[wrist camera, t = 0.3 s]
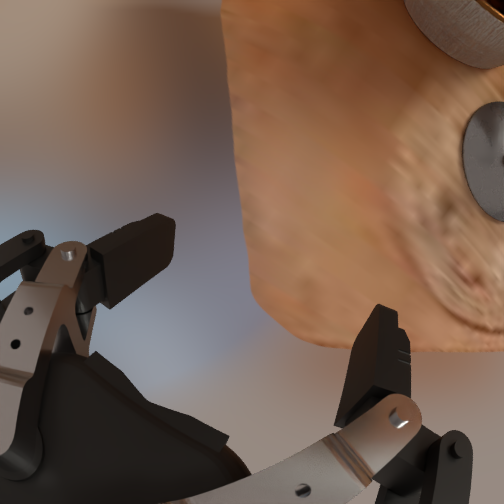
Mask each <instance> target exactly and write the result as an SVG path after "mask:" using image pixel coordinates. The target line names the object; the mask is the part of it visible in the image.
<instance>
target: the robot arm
mask: <svg viewBox="0 0 504 504" xmlns="http://www.w3.org/2000/svg"><path fill="white" fill-rule="evenodd" d="M175 227H176V224H175V221H174V219H172V218H169V217H167V216H164V215H162V214H159V213H156V214H153V215H151V216H149V217H147V218H145V219H143V220H141V221H136V222H132V223H129V224H127V225H125V226H123V227H121V229H120V228H119V229H117V230H115V231H114V232H113V233H112V232H111V233H109V234H107V235H105V236H103V237H101V238H99V239H97V240H95V241H93V242H92V243H90V244H88V245H84V244H83V243H81V242H77V241H68V242H64V243H61V244H59V245H57V246H56V247H51V246H48V245H45V239H44V234H43V233H42V232H41V231H39V230H28V231H25V232H22V233H20V234H19V235H17V236H15V237H13V238H12V239H10V240H8V241H6V242H4V243H3V244H1V245H0V282H1V281H2V280H4V279H5V278H7V277H8V276H10V275H11V274H13V273H14V272H16V271H17V270H19V269H20V272H21V275H22V279H23V281H22V282H21V283H20V285H19V286H18V288H17V290H16V291H14V292H13V293H12V294H10V295H9V296H8V297H6V298H5V299H4V300H2V301H1V300H0V504H346V503H347V502H349V501H350V500H351V499H353V498H354V497H355V496H356V495H358V494H359V493H360V492H361V491H363V490H364V489H365V488H366V487H367V486H368V485H369V484H370V483H371V482H372V479H373V480H375V481H376V482H378V483H380V484H381V485H380V488H379V491H378V495H377V498H376V501H375V504H469V496H470V489H471V478H472V461H473V450H472V445H471V443H470V441H469V439H468V437H467V436H466V435H465V434H463V433H462V432H460V431H456V430H452V431H449V432H447V433H446V434H444V435H443V436H442V437H440V436H439V435H437V434H435V433H434V432H432V431H431V430H429V429H428V428H426V427H425V426H423V425H422V416H421V412H420V410H419V408H418V406H417V405H416V404H415V402H414V401H413V400H412V399H411V365H410V363H411V358H410V357H411V356H410V341H409V339H408V337H407V334H406V332H405V330H403V329H401V328H398V313H397V311H395V310H393V309H390V308H388V307H385V306H383V305H381V304H377V305H376V306H375V308H374V309H373V311H372V313H371V314H370V316H369V318H368V319H367V321H366V323H365V324H364V326H363V328H362V329H361V331H360V332H359V334H358V336H357V338H356V340H355V342H354V344H353V347H352V350H351V355H350V360H349V365H348V370H347V374H346V379H345V383H344V388H343V392H342V396H341V400H340V404H339V408H338V411H337V415H336V419H335V423H334V426H337V427H340V428H343V429H341V430H340V431H338V432H337V433H335V434H334V433H332V434H330V435H328V436H326V437H324V438H323V439H321V440H319V441H317V442H316V443H314V444H312V445H311V446H309V447H307V448H305V449H304V450H302V451H300V452H298V453H296V454H294V455H293V456H291V457H289V458H287V459H285V460H283V461H281V462H279V463H277V464H275V465H273V466H271V467H268V468H266V469H264V470H262V471H260V472H258V473H255V474H253V475H252V474H251V473H250V471H249V470H248V468H247V466H246V465H245V464H244V462H243V461H242V460H241V459H240V457H239V456H237V454H236V453H235V452H234V451H232V450H231V449H230V448H229V447H228V446H227V445H226V443H227V441H228V439H229V436H228V435H226V434H224V433H222V432H220V431H218V430H216V429H214V428H212V427H210V426H209V425H207V424H204V423H203V422H201V421H199V420H197V419H195V418H194V417H192V416H189V415H186V414H183V413H180V412H177V411H173V410H171V409H168V408H165V407H162V406H159V405H157V404H154V403H151V402H149V401H148V400H146V399H145V398H144V397H143V395H142V394H141V393H140V392H139V391H138V390H137V389H136V387H135V386H134V385H133V384H132V383H131V382H130V380H129V379H128V378H127V377H126V376H125V374H124V373H123V372H122V371H121V370H120V369H118V368H117V367H116V366H114V365H113V364H112V363H110V362H109V361H108V360H107V359H105V358H104V357H103V356H101V355H100V354H99V353H98V352H97V351H95V352H94V353H93V354H92V355H91V356H89V345H90V340H91V335H92V330H93V325H94V321H95V316H96V310H97V309H96V305H97V304H98V303H102V304H103V305H104V306H106V307H107V308H108V309H111V308H113V307H114V306H115V305H117V304H118V303H119V302H121V301H122V300H123V299H125V298H126V297H127V296H129V295H130V294H131V293H132V292H134V291H135V290H137V289H138V288H139V287H141V286H142V285H143V284H145V283H146V282H147V281H149V280H150V279H151V278H153V277H154V276H155V275H157V274H158V273H159V272H161V271H162V270H164V269H165V268H166V267H167V266H168V265H169V264H170V262H171V260H172V257H173V251H174V239H175Z"/></svg>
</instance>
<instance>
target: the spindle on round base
mask: <svg viewBox="0 0 504 504" xmlns="http://www.w3.org/2000/svg"><path fill="white" fill-rule="evenodd" d="M462 158H463V168H464V173H465V177H466V180H467V183H468V186H469V189H470V191H471V193H472V195H473V197H474V199H475V200H476V202H477V203H478V204H479V206H480V207H481V208H482V209H483V210H484V211H485V212H486V213H487V214H489V215H490V216H492V217H493V218H495V219H497V220H499V221H503V222H504V102H491V103H488V104H485V105H484V106H482V107H480V108H479V109H478V110H477V111H476V112H475V113H474V114H473V116H472V117H471V119H470V121H469V122H468V125H467V127H466V130H465V134H464V139H463V148H462Z"/></svg>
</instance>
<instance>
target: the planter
mask: <svg viewBox="0 0 504 504" xmlns="http://www.w3.org/2000/svg"><path fill="white" fill-rule="evenodd" d="M404 3H405V6H406V8H407V11H408V13H409V14H410V16H411V18H412V19H413V21H414V22H415V24H416V25H417V26H418V28H419V29H420V30H421V31H422V33H423V34H424V35H425V36H426V37H427V38H428V39H429V40H430V41H431V42H432V43H434V44H435V45H436V46H437V47H438V48H440V49H441V50H442V51H444V52H445V53H446V54H448V55H449V56H451V57H453V58H454V59H456V60H458V61H460V62H462V63H464V64H467V65H469V66H473V67H477V68H483V69H490V68H496V67H499V66H502V65H504V0H404Z"/></svg>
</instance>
